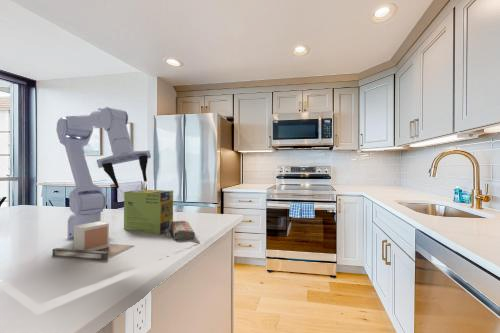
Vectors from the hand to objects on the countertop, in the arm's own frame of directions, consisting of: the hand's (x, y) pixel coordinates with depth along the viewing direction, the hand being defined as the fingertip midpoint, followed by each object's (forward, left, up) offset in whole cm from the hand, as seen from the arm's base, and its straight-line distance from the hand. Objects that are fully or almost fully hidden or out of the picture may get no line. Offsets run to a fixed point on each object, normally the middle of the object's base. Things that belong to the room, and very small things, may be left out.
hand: (131, 183), depth 73 cm
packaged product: (+7, +17, -21) cm, 28 cm away
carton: (-10, -3, -19) cm, 22 cm away
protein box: (-9, +24, -20) cm, 33 cm away
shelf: (-8, -4, -20) cm, 22 cm away
